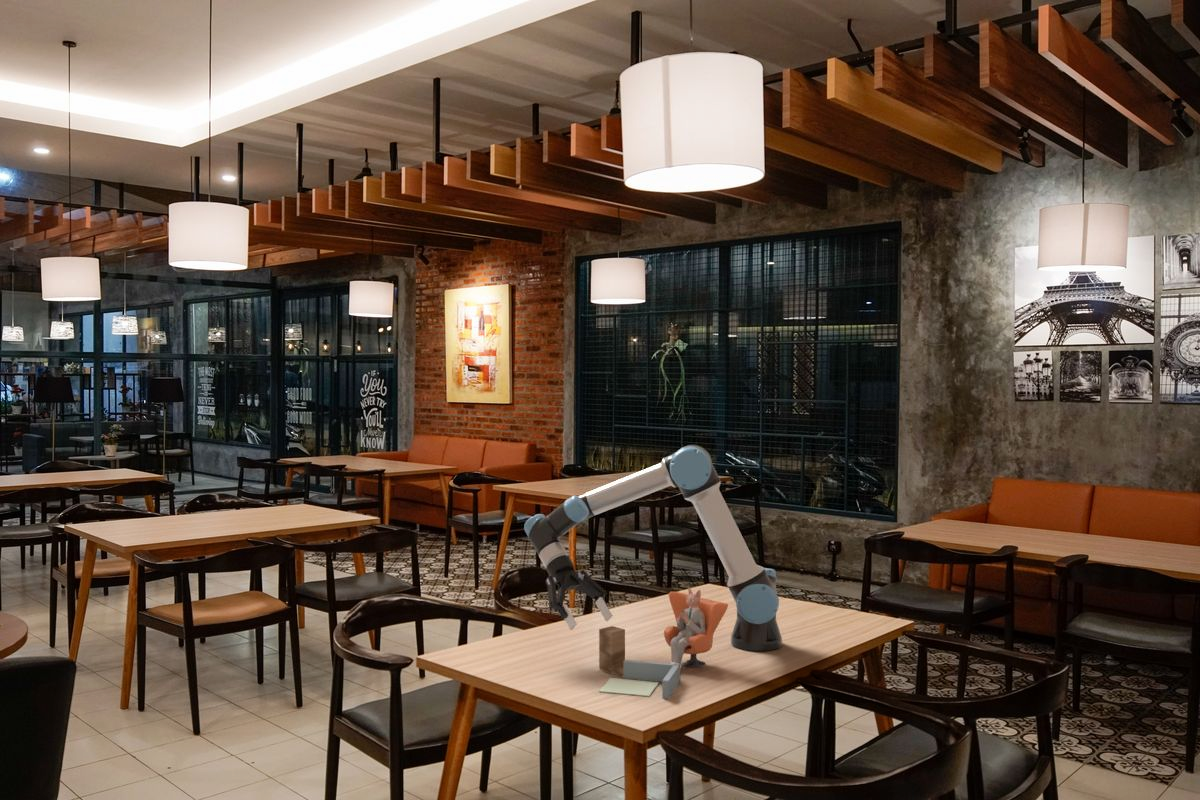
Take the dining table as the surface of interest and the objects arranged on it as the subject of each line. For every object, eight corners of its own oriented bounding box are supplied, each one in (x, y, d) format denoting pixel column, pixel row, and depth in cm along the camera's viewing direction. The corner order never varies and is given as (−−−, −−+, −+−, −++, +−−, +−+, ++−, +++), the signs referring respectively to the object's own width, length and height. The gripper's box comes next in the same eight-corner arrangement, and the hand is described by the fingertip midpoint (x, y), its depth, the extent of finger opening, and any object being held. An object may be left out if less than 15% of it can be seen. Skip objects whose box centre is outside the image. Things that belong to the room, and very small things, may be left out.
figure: (635, 664, 258) (635, 588, 258) (681, 652, 270) (681, 579, 270) (691, 682, 241) (691, 601, 241) (738, 669, 253) (737, 592, 253)
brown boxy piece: (636, 673, 250) (636, 632, 250) (623, 676, 246) (623, 635, 246) (612, 665, 257) (612, 626, 257) (599, 669, 253) (599, 629, 253)
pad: (658, 683, 241) (658, 682, 241) (649, 696, 230) (649, 695, 230) (610, 679, 244) (610, 678, 244) (599, 692, 234) (599, 690, 234)
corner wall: (680, 681, 242) (680, 664, 242) (668, 698, 229) (668, 680, 229) (624, 676, 247) (624, 659, 247) (610, 693, 233) (610, 675, 233)
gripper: (582, 564, 279) (617, 622, 269) (517, 575, 262) (551, 638, 251) (594, 548, 275) (630, 607, 265) (529, 559, 258) (564, 622, 248)
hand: (592, 622), depth 258 cm, fingers open, 13 cm apart
